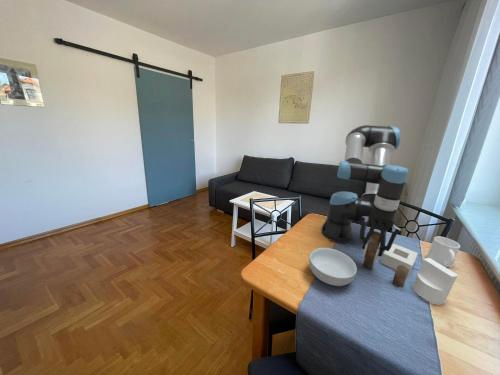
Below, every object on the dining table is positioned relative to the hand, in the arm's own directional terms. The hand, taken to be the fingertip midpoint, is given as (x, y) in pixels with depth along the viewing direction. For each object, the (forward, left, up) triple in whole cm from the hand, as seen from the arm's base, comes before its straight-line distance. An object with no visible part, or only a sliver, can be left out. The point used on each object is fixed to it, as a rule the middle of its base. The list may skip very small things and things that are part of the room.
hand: (369, 258), depth 83 cm
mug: (+21, +27, -4) cm, 34 cm away
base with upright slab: (+20, +2, -4) cm, 20 cm away
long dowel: (0, 0, -4) cm, 4 cm away
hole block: (+8, +13, -4) cm, 16 cm away
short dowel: (+11, -1, -4) cm, 12 cm away
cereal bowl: (-8, -17, -4) cm, 20 cm away
